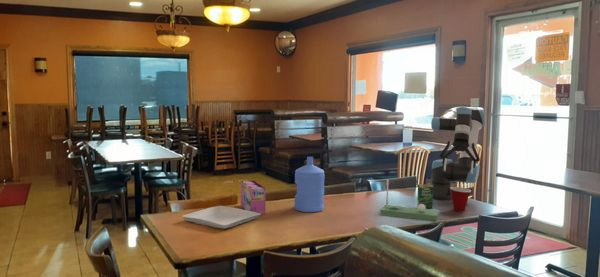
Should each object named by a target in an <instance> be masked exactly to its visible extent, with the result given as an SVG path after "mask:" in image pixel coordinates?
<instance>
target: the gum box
mask: <svg viewBox="0 0 600 277" xmlns="http://www.w3.org/2000/svg"><path fill="white" fill-rule="evenodd" d="M240 183H241V184H240V206H241V207H242V208H243V210H247V211H252V212H256V213H261V215H266V198H267V197H266V194H267V192H266V188H265V187H264V185H261V184H260V183H259V182H257V181H256V180H250V181H243V180H241V181H240ZM261 215H260V216H261Z"/></svg>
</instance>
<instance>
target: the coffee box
mask: <svg viewBox="0 0 600 277" xmlns="http://www.w3.org/2000/svg"><path fill="white" fill-rule="evenodd" d="M420 204H423V205H425V207H426V209H434V208H433V207H434V205H433V204H434V199H433V185H432V184H431V183H428V184H426V183H425V184H417V204H416V205H417V207H416V208H418V205H420Z"/></svg>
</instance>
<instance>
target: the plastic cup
mask: <svg viewBox="0 0 600 277" xmlns="http://www.w3.org/2000/svg"><path fill="white" fill-rule="evenodd" d="M450 189H451V194H452V199H451V200H452V201H451V202H452V207H453V210H454V212H458V213H459V212H462V213H463V212H465V211H466V208H467V204H468V200H469V196H470V193H471V192H472V190H471V189H469V188H464V187H458V186H451V188H450Z"/></svg>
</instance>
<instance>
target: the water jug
mask: <svg viewBox="0 0 600 277" xmlns="http://www.w3.org/2000/svg"><path fill="white" fill-rule="evenodd" d="M294 172H295V174H294V183H295V184H296V194H295V195H294V205H293V207H294V209H295V210H296V211H298V212H303V213H318V212H321V211H323V210H324V207H325V203H324V198H325V171H324V169H322V168H320V167H318V166H316V165H314V156H307V157H306V165H302V166H301V167H299V168H297V169H296V170H294Z"/></svg>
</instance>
